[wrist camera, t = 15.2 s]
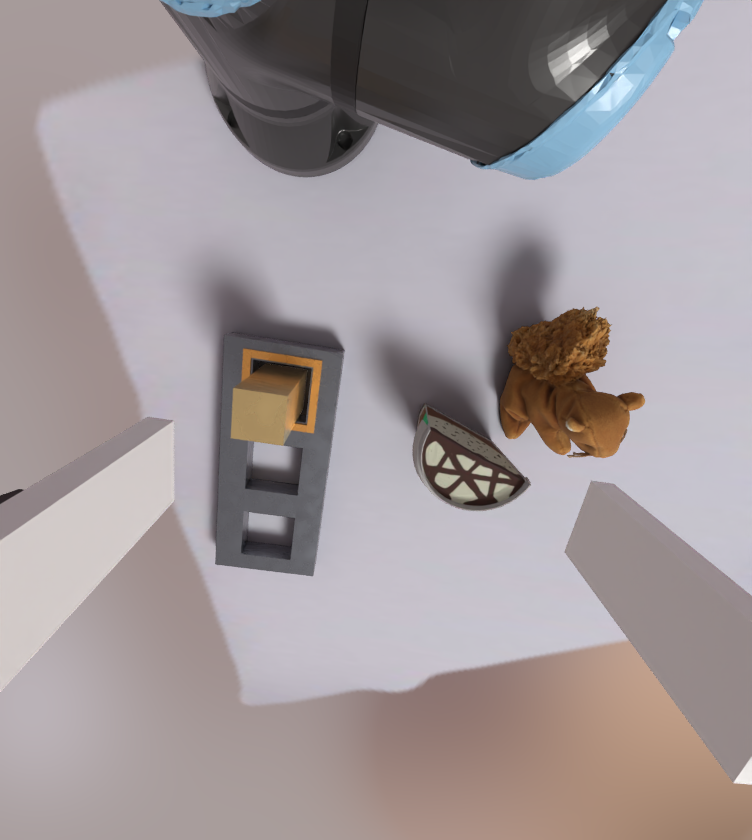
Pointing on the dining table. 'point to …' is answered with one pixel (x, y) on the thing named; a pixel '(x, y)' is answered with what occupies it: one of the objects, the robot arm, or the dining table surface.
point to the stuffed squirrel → (564, 386)
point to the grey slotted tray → (307, 433)
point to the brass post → (268, 404)
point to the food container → (463, 464)
